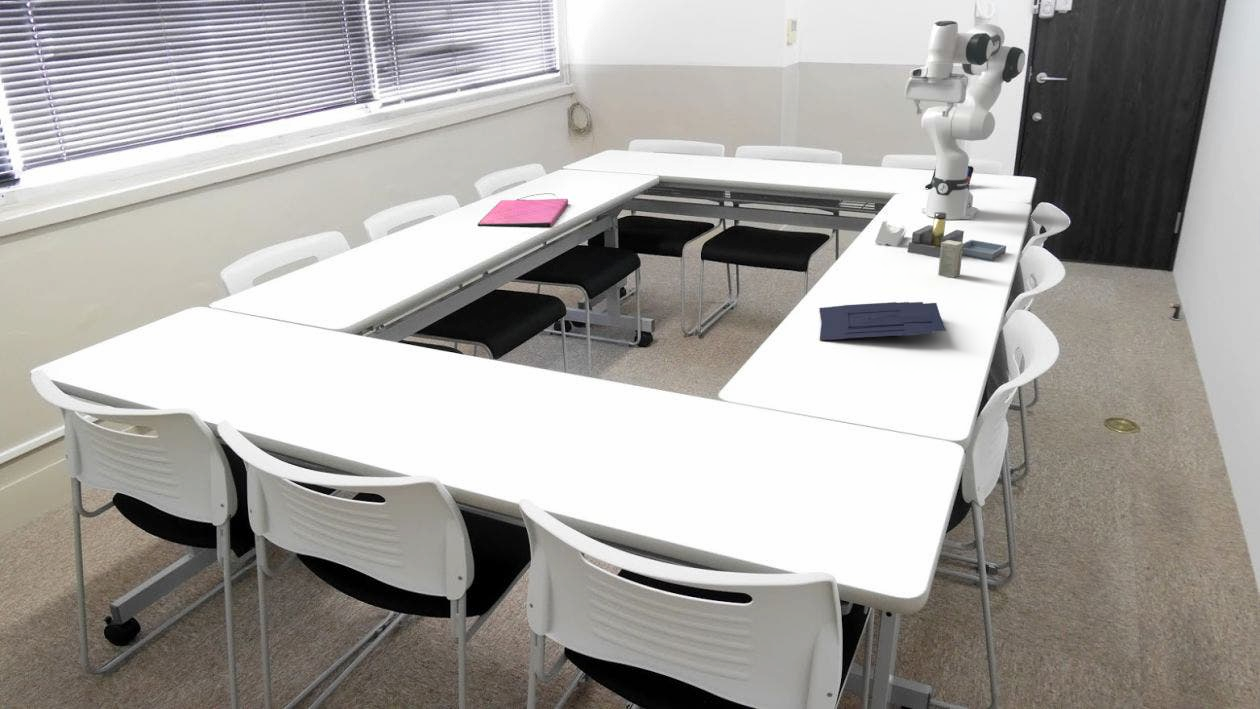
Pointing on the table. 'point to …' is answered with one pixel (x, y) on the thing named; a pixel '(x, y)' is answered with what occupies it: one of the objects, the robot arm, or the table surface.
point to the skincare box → (950, 258)
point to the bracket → (890, 234)
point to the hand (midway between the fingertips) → (931, 115)
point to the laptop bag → (525, 213)
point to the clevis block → (923, 241)
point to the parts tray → (982, 250)
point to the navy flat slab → (879, 320)
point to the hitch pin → (938, 228)
